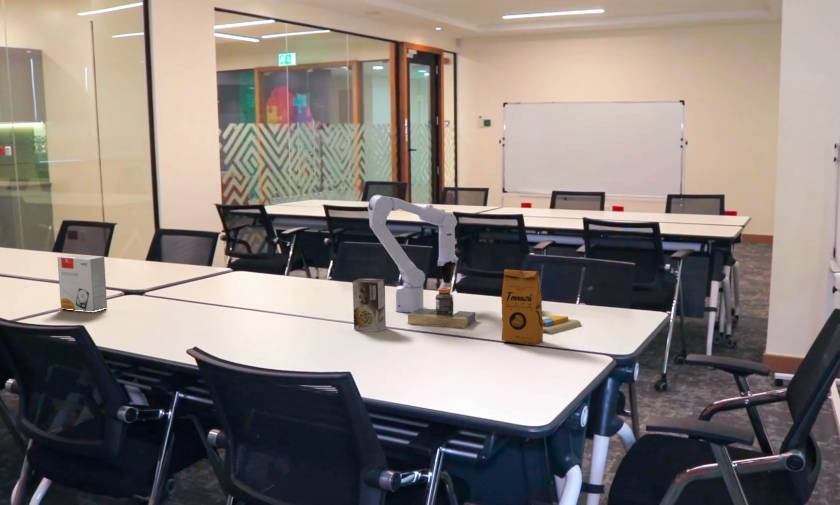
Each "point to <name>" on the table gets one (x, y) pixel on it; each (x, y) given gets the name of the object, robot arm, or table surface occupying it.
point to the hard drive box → (82, 282)
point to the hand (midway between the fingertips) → (447, 282)
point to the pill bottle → (444, 302)
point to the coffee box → (369, 304)
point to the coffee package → (522, 308)
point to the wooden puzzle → (558, 323)
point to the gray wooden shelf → (441, 318)
